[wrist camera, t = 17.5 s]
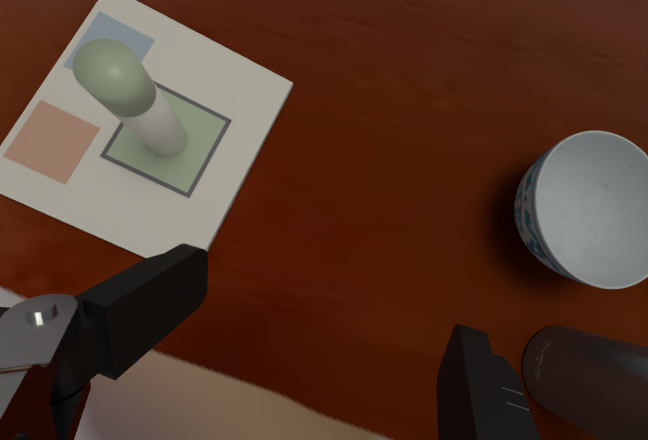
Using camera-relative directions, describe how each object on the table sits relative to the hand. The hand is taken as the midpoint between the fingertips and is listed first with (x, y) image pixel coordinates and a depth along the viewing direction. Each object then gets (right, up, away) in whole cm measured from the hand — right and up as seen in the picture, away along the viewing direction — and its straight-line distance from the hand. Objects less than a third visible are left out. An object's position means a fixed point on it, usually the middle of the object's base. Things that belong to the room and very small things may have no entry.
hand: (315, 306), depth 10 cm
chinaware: (+25, +3, +28) cm, 38 cm away
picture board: (-17, +11, +22) cm, 30 cm away
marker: (-15, +11, +21) cm, 28 cm away
